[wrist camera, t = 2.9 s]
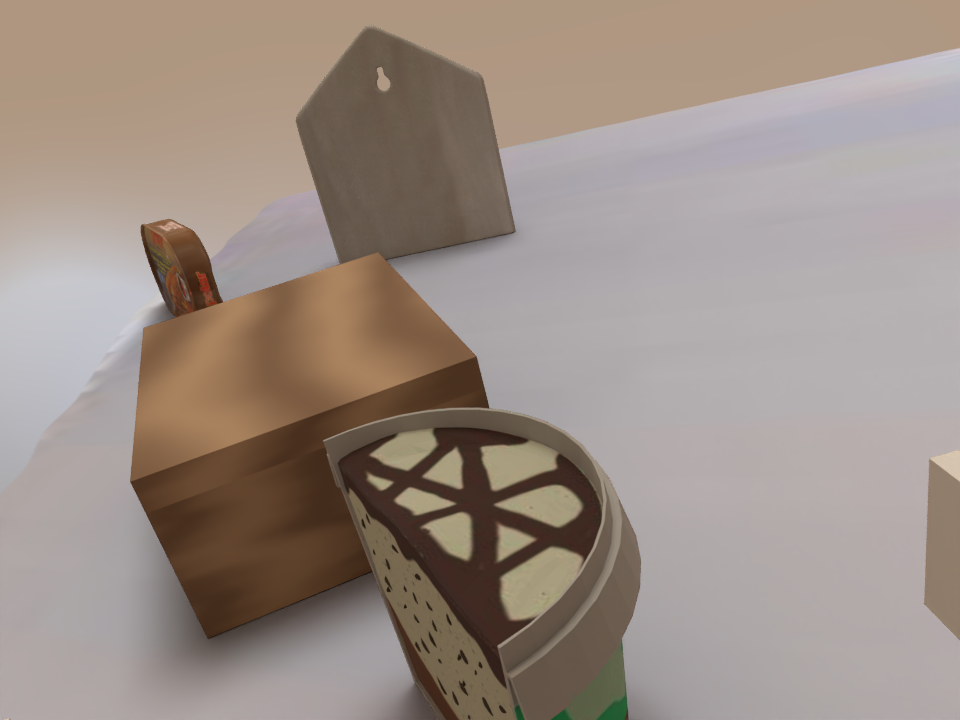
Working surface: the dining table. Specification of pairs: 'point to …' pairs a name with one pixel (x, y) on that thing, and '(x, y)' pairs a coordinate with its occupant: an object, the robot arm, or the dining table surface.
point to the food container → (495, 561)
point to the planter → (403, 151)
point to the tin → (180, 267)
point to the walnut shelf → (280, 428)
